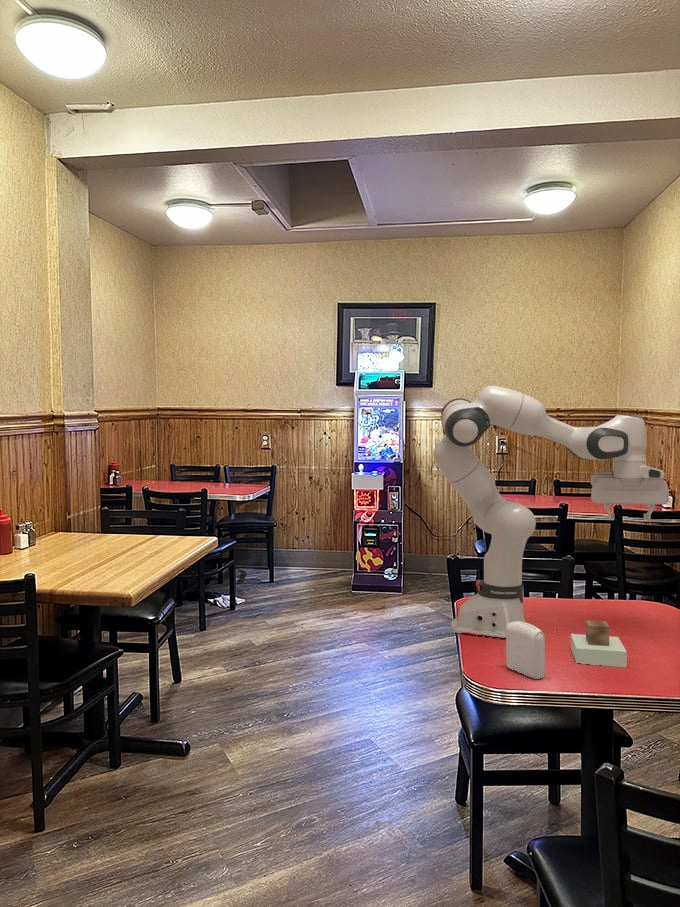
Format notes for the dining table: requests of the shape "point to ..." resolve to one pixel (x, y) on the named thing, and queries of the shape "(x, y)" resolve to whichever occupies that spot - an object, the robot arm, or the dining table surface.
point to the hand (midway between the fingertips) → (629, 519)
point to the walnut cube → (597, 633)
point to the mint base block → (598, 652)
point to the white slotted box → (525, 649)
